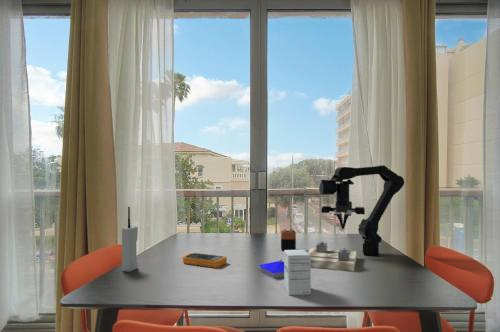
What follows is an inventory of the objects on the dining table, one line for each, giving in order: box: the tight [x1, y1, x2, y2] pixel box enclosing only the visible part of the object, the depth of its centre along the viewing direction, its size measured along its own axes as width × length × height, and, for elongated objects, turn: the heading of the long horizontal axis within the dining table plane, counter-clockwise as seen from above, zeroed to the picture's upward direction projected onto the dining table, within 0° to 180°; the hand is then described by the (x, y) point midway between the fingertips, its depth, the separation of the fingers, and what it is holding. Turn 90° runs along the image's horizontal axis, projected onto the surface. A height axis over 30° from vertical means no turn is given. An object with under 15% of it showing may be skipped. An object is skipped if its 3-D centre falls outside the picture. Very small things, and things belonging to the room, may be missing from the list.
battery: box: [280, 228, 297, 252], centre depth 167 cm, size 4×7×10 cm, turn 91°
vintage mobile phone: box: [121, 206, 139, 273], centre depth 136 cm, size 4×5×25 cm
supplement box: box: [283, 249, 312, 296], centre depth 112 cm, size 7×7×13 cm
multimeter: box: [182, 252, 228, 269], centre depth 145 cm, size 9×18×3 cm, turn 65°
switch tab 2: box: [338, 247, 351, 261], centre depth 139 cm, size 4×5×4 cm
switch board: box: [307, 247, 358, 272], centre depth 146 cm, size 20×20×3 cm
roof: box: [257, 259, 284, 279], centre depth 132 cm, size 12×12×5 cm
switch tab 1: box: [315, 240, 328, 253], centre depth 152 cm, size 4×5×4 cm
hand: (343, 228), depth 157 cm, fingers closed
